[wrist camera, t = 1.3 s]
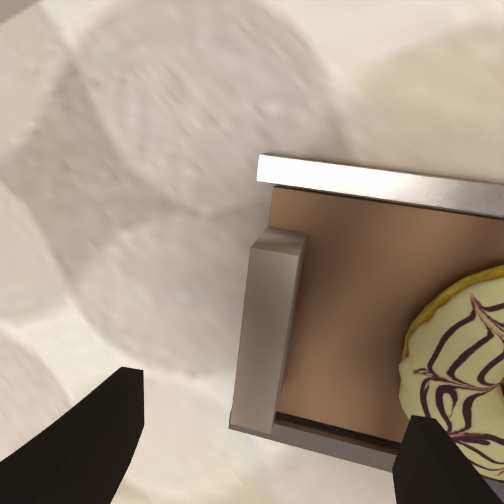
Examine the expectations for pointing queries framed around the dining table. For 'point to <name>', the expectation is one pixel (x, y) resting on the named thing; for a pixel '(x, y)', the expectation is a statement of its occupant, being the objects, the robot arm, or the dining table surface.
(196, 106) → the dining table surface
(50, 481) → the robot arm
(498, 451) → the decorated donut
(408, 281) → the brown square board
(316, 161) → the rails
